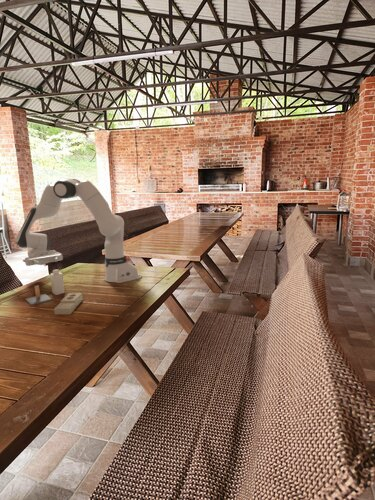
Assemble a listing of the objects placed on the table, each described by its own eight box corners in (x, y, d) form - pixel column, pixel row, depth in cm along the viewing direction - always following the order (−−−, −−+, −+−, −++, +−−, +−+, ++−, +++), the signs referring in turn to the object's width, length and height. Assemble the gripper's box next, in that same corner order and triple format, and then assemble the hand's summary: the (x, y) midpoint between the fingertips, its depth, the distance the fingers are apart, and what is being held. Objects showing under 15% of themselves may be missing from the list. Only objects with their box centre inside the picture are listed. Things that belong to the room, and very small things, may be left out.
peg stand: (45, 295, 169) (44, 281, 168) (51, 300, 162) (49, 286, 160) (25, 300, 163) (23, 285, 162) (30, 305, 156) (28, 290, 154)
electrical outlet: (53, 307, 144) (68, 293, 162) (54, 315, 145) (69, 300, 163) (69, 306, 144) (82, 292, 162) (70, 314, 145) (83, 300, 162)
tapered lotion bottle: (61, 290, 176) (59, 268, 173) (64, 292, 173) (62, 270, 170) (52, 292, 173) (49, 270, 170) (55, 295, 169) (52, 272, 167)
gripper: (21, 254, 182) (27, 259, 171) (57, 249, 194) (65, 253, 184) (22, 265, 183) (28, 270, 173) (58, 259, 196) (66, 263, 186)
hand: (47, 261), depth 179 cm, fingers open, 8 cm apart
